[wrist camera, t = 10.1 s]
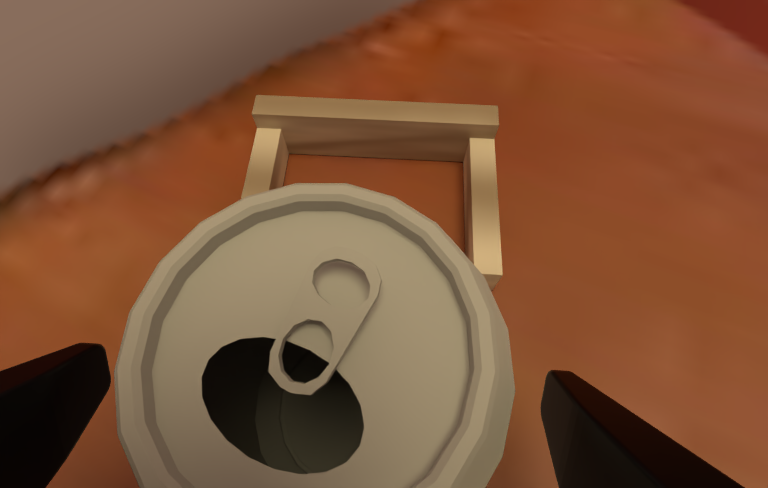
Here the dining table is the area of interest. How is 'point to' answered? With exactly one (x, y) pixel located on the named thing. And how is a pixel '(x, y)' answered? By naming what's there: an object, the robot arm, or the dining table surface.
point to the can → (315, 351)
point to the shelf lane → (388, 150)
